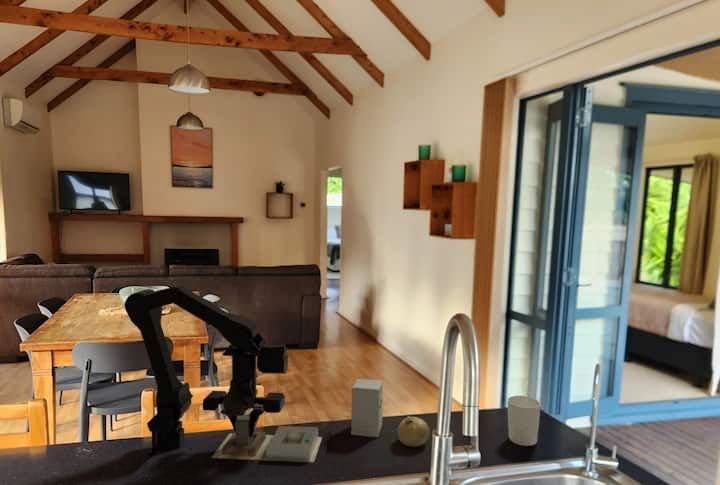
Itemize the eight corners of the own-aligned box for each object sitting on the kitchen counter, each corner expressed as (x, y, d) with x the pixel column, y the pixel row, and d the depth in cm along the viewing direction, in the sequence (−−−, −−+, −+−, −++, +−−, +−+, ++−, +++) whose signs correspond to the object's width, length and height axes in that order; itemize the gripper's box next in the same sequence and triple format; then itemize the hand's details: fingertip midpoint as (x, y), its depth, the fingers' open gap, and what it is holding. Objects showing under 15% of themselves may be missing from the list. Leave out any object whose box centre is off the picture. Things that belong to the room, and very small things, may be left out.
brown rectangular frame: (222, 454, 110) (221, 448, 110) (235, 436, 119) (235, 430, 118) (255, 456, 109) (255, 449, 109) (266, 437, 118) (266, 432, 118)
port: (266, 460, 107) (266, 447, 107) (279, 435, 119) (279, 424, 119) (309, 461, 107) (309, 449, 106) (318, 437, 119) (318, 425, 118)
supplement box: (378, 438, 120) (379, 389, 120) (350, 435, 122) (350, 387, 121) (383, 425, 128) (383, 379, 127) (356, 422, 129) (356, 377, 128)
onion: (400, 434, 123) (400, 407, 122) (431, 438, 121) (431, 411, 120) (394, 448, 115) (394, 420, 115) (427, 453, 113) (427, 424, 112)
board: (211, 461, 108) (211, 457, 108) (229, 437, 120) (229, 433, 120) (313, 466, 107) (313, 462, 106) (322, 441, 118) (322, 437, 118)
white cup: (505, 443, 118) (506, 404, 117) (507, 430, 125) (508, 393, 124) (538, 449, 115) (540, 410, 114) (539, 435, 122) (540, 398, 121)
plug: (235, 450, 112) (235, 417, 111) (241, 441, 116) (241, 409, 116) (248, 450, 111) (247, 418, 111) (253, 441, 116) (253, 410, 115)
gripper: (192, 383, 105) (193, 450, 106) (273, 386, 104) (274, 454, 105) (211, 367, 116) (212, 428, 117) (285, 369, 115) (285, 431, 116)
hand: (244, 435), depth 114 cm, fingers closed on plug, 3 cm apart
